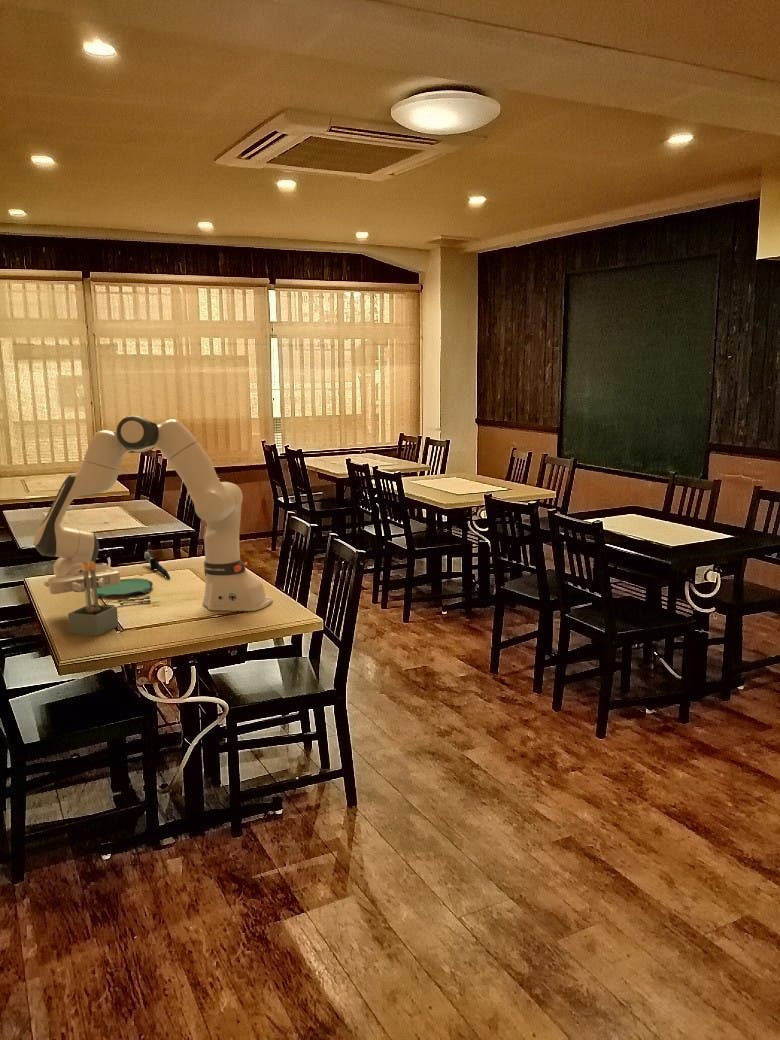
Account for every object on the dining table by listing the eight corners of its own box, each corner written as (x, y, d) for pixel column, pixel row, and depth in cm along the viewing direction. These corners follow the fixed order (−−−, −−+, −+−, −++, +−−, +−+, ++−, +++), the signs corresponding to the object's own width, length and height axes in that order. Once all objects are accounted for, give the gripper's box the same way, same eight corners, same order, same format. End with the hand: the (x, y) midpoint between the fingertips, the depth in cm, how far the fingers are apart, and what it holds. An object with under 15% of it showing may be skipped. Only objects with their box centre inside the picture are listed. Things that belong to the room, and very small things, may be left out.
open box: (118, 625, 239) (116, 606, 238) (97, 636, 230) (96, 616, 229) (91, 623, 242) (89, 604, 240) (69, 633, 233) (68, 613, 231)
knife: (143, 561, 315) (143, 550, 314) (151, 559, 317) (150, 549, 315) (163, 586, 290) (162, 574, 288) (171, 585, 291) (171, 573, 290)
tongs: (99, 623, 238) (93, 560, 236) (103, 626, 235) (97, 562, 232) (85, 625, 236) (79, 562, 233) (89, 628, 233) (83, 564, 230)
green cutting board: (151, 581, 290) (150, 575, 289) (157, 604, 262) (156, 598, 262) (93, 587, 283) (92, 581, 283) (93, 612, 256) (92, 605, 255)
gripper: (41, 572, 237) (53, 582, 226) (111, 562, 249) (125, 570, 238) (43, 593, 238) (55, 603, 227) (112, 581, 250) (126, 591, 239)
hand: (91, 586), depth 233 cm, fingers open, 4 cm apart
